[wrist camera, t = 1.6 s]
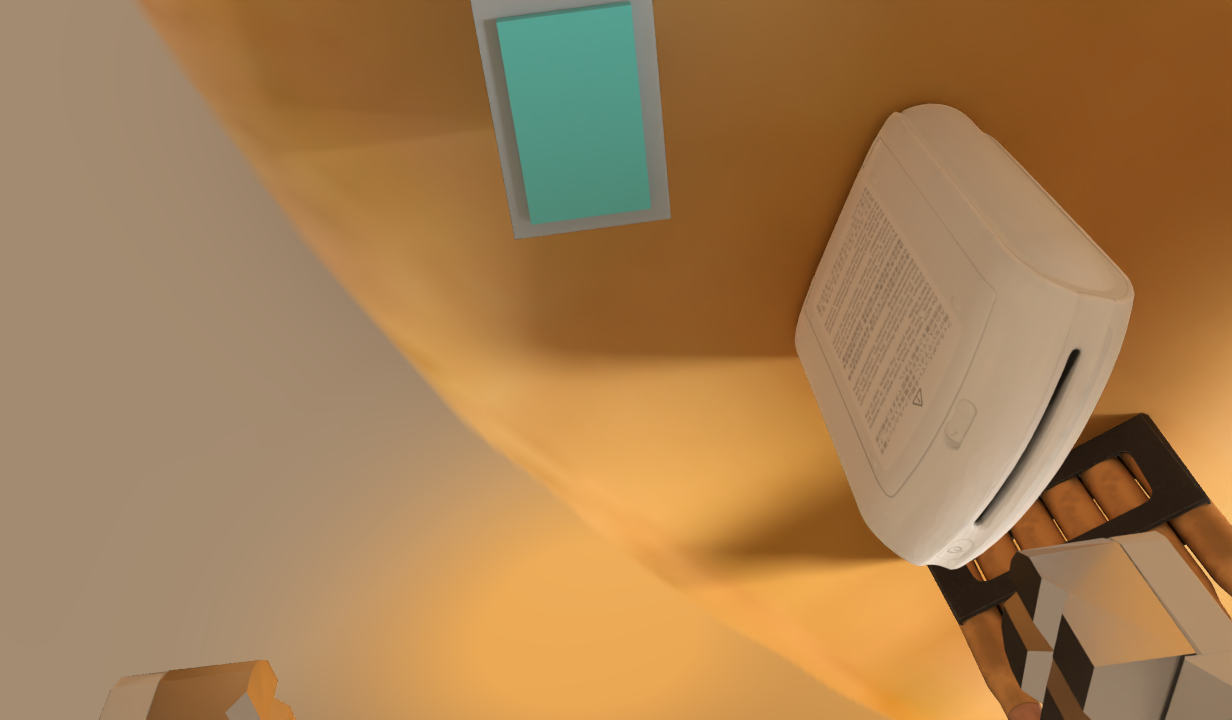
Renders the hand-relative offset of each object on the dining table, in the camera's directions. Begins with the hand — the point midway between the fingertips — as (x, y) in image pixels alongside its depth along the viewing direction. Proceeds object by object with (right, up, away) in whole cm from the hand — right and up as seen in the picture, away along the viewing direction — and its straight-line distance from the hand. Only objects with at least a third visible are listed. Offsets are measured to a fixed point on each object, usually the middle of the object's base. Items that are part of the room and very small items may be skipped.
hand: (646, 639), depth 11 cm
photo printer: (+9, +7, +25) cm, 27 cm away
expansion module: (-2, +13, +20) cm, 24 cm away
